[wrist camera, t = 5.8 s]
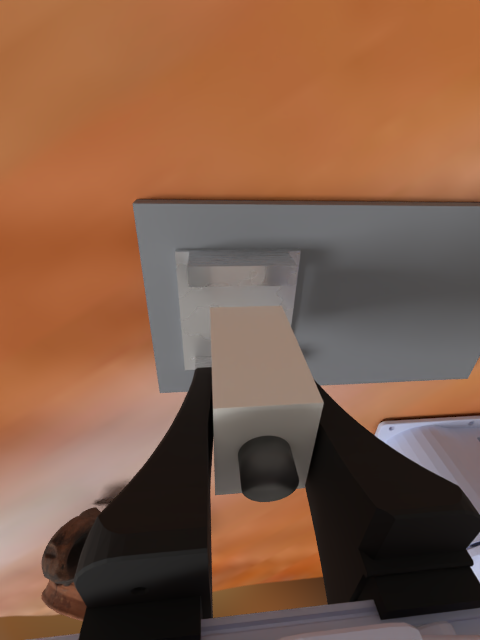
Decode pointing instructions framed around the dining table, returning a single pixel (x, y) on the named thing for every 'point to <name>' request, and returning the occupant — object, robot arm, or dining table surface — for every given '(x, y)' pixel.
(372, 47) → the dining table surface
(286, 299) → the end holder
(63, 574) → the pottery mug
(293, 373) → the connector
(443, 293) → the board
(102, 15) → the dining table surface
